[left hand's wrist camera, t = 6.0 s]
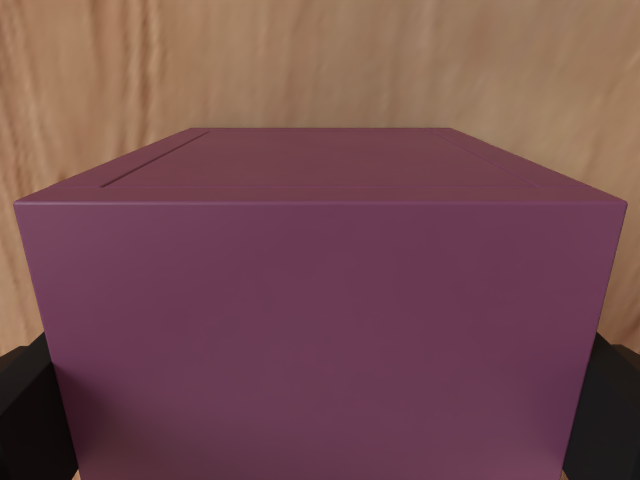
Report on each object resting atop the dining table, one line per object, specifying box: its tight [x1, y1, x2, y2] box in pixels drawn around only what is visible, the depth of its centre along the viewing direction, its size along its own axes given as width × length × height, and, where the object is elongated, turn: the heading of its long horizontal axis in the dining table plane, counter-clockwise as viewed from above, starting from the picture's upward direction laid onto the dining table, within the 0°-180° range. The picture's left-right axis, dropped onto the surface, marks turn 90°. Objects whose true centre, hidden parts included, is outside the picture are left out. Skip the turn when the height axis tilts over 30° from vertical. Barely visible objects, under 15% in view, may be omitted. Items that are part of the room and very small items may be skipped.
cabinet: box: [13, 128, 627, 480], centre depth 15 cm, size 16×10×11 cm, turn 0°
